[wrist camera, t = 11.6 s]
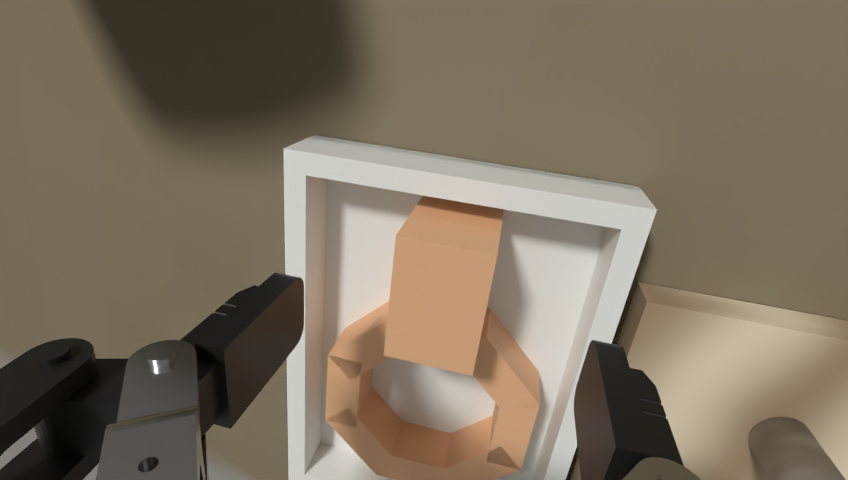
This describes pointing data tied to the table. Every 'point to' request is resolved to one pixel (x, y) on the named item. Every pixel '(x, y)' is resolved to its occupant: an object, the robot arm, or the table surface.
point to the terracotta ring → (436, 353)
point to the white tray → (509, 295)
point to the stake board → (743, 384)
